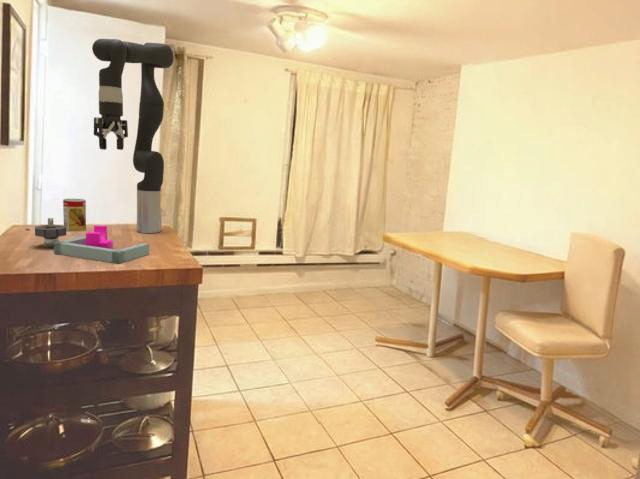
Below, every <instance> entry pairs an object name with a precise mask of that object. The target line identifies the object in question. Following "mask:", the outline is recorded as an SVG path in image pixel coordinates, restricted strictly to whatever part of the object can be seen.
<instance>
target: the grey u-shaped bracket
mask: <svg viewBox="0 0 640 479" xmlns="http://www.w3.org/2000/svg"><path fill="white" fill-rule="evenodd" d="M53 250H54V251H53V253H54V255H55V254H56V255H62V256H68V257H73V258H74V257H75V258H82V259H87V260H94V261H99V262H100V261H101V262H106V263H107V262H108V263H112V264H122V263H125V262H128V261H129V262H130V261H132V260H135V259H139V258H141V257H142V258H143V257H145V256H148V255H150V244H149V243H143V242H141V243H139V244H135V245H130V246H127V247H123V248H119V249H115V248H113V249H108V248H101V247H95V246H88V245H86V235H85V236H80V237H75V238H70V239H66V240H61V241H60V240H59V242H55V243H54V248H53Z"/></svg>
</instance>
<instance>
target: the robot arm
mask: <svg viewBox="0 0 640 479" xmlns="http://www.w3.org/2000/svg"><path fill="white" fill-rule="evenodd" d="M91 48H92V53H93V55H94V57H95V58H96V59H98V60H99V61H101V62H110V63H109V65H108V66H107V67H104V68H101V69H100V70H99V71H98V83H99V84H98V86H99V87H98V114H99V115H101V117H98V116H97V117H96V116H95V117H93V135H94V137H95V136H96V137H97V138H98V145H99V146H98V148H99V149H100V150H107V148H108V147H107V146H108V144H107V136H108V134H110V133H113V134H114V135H115V136H116V149H117V150H120V151H121V150H124V148H125V147H124V142H125V141H124V140H125V139H126V138H128V137H129V129H128V120H126V119H121V117H123V116H124V101H123V100H124V95H123V85H122V81H123V80H122V76H123V72H124V69H125V65H126V64H140V65H141V68H140V70H141V75H140V76H141V77H140V78H141V80H140V81H141V82H140V97H139V103H138V104H139V107H138V120H137V121H138V123H137V133H136V139H135V144H134V151H133V156H132V164H133V167H134V169H135V171H137V172H139V173H142V174H144V176H143V179H142V180H141V181H139V182H137V183H136V232H137V233H143V234H156V233H160V232H161V231H162V208H161V207H162V206H161V202H162V201H161V200H162V199H161V197H162V196H161V195H162V194H161V193H162V192H161V189H162V185H163V182H164V173H165V172H164V169H165V163H164V161H165V160H164V158H163V157H164V156H162V154H161V153H160V152H159V151H156V150H152V147H153V140H154V138H155V135H156V133H157V131H158V130H159V128H160V126H161V124H162V123H163V118H164V107H165V104H164V103H165V102H164V99H163V97H162V94H161V91H160V90H159V88H158V86H157V83H156V79H155V69H168V68H171V67H172V65H173V63H174V61H175V60H174V59H175V58H174V51H173V49H172V47H170V45H168V44H166V43H161V42H160V43H158V42H145V43H144V44H143V43H142V44H141V43H136V42H132V41H126V40H125V41H122V40H120V39H116V38H114V39H113V38H98V39H96V40H94V42H93V43H92V47H91Z"/></svg>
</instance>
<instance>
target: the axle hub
mask: <svg viewBox="0 0 640 479" xmlns="http://www.w3.org/2000/svg"><path fill="white" fill-rule="evenodd" d="M47 225H48V228H54V225H55V224H54V218H53V217H48V218H47ZM42 238H43V248H47V249H54V243H55V242H60V239H59V238H60V237H42Z"/></svg>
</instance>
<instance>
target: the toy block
mask: <svg viewBox="0 0 640 479" xmlns="http://www.w3.org/2000/svg"><path fill="white" fill-rule="evenodd" d="M85 236H86V245H88V246H95V247H101V248H108V249H114V245H113V244H114V243H113V242H114V239H108V226H107V225H93V231H87V232H86V233H85Z"/></svg>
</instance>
